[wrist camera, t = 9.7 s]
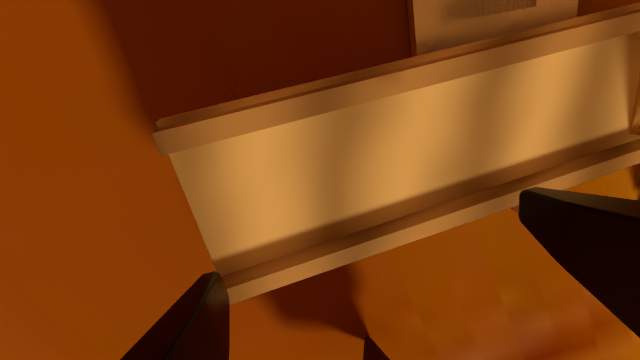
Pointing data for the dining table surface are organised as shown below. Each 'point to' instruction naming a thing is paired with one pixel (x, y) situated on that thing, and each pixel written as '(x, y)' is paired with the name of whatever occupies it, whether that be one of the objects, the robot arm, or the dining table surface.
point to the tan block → (636, 114)
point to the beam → (404, 147)
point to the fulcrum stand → (478, 21)
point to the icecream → (373, 351)
